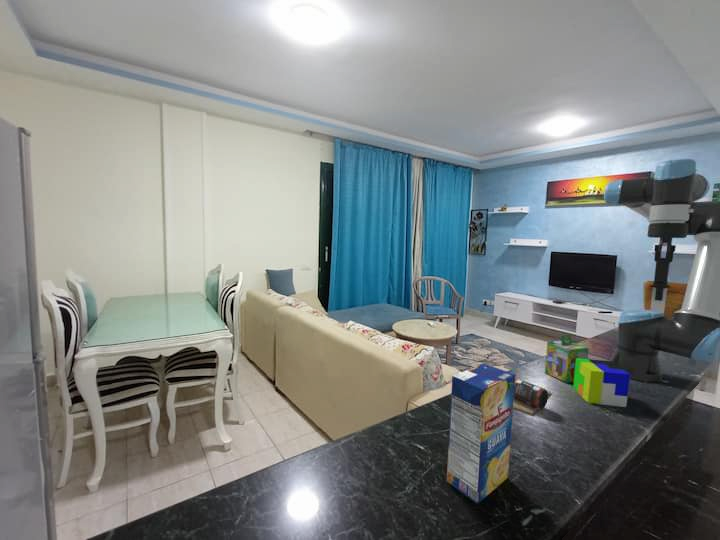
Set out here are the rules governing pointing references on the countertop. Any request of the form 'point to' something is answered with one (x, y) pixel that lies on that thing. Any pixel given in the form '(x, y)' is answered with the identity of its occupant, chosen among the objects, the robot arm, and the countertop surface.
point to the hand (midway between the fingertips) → (657, 311)
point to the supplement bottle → (530, 394)
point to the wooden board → (525, 406)
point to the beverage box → (480, 430)
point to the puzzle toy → (601, 382)
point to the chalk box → (563, 358)
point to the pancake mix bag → (672, 297)
